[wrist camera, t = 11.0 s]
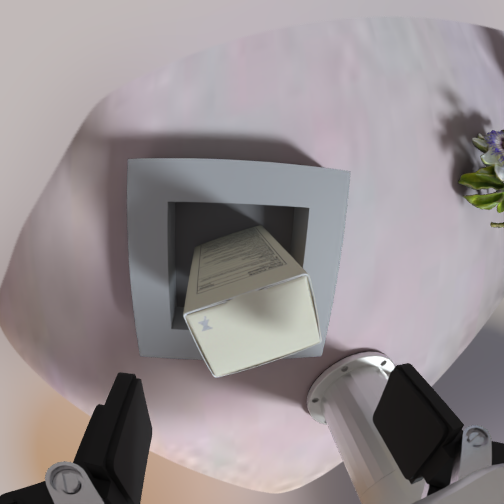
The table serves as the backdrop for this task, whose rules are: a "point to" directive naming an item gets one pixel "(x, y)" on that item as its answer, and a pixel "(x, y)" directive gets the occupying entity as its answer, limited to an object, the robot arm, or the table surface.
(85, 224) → the table surface
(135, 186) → the socket block
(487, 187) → the passion flower
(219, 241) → the skincare box
